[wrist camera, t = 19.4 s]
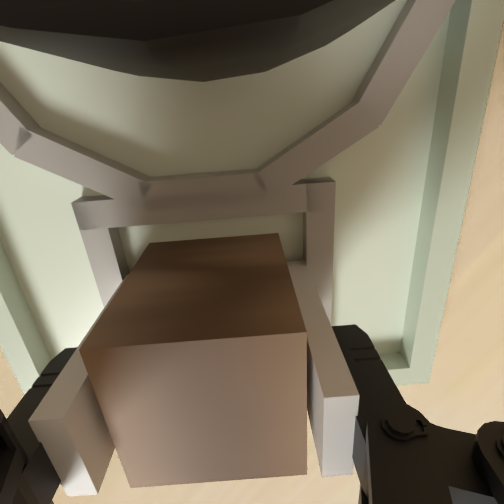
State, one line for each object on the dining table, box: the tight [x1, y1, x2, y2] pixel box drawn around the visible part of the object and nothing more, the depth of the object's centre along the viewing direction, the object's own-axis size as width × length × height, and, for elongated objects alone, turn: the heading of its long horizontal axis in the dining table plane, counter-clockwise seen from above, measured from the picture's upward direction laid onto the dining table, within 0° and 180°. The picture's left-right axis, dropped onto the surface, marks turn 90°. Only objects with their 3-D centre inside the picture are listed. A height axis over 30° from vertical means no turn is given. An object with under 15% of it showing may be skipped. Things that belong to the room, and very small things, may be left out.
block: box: [79, 233, 307, 488], centre depth 11 cm, size 5×5×6 cm
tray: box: [0, 0, 504, 395], centre depth 10 cm, size 18×26×2 cm
